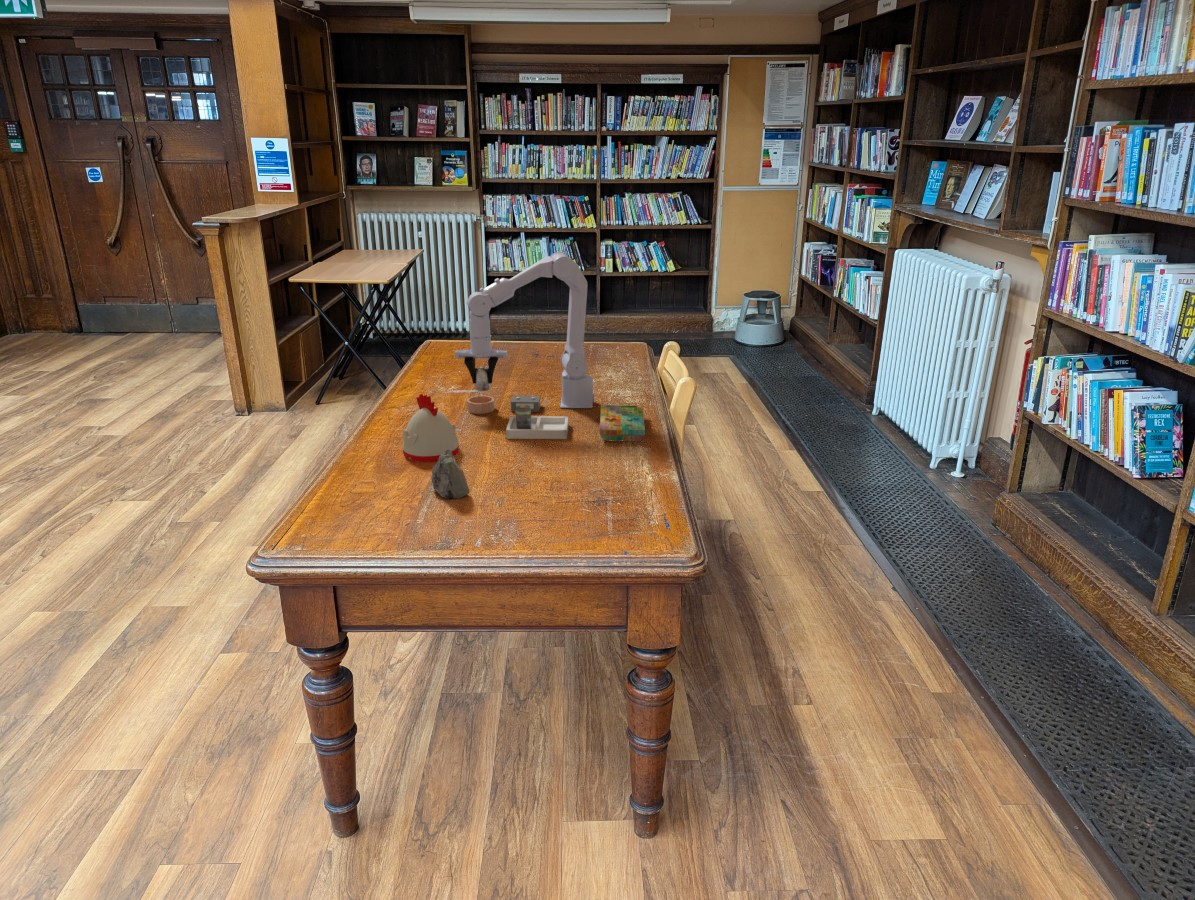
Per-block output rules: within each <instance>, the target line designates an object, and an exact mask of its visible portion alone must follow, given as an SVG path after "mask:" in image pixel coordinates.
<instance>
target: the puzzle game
mask: <svg viewBox="0 0 1195 900" xmlns="http://www.w3.org/2000/svg"><path fill="white" fill-rule="evenodd" d="M599 416H600V417H599V418H600V419H599V423H600V424H599V435H600V437H601V438H602V440H623V441H622V442H641V441H642V439H644V438H645V435H646V428H645V419H644V408H643V405H641V404H640V405H633V404H632V405H629V404H627V405H625V404H624V405H621V404H615V405H614V404H613V405H612V404H611V405H610V404H609V405H608V404H600V414H599Z"/></svg>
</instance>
